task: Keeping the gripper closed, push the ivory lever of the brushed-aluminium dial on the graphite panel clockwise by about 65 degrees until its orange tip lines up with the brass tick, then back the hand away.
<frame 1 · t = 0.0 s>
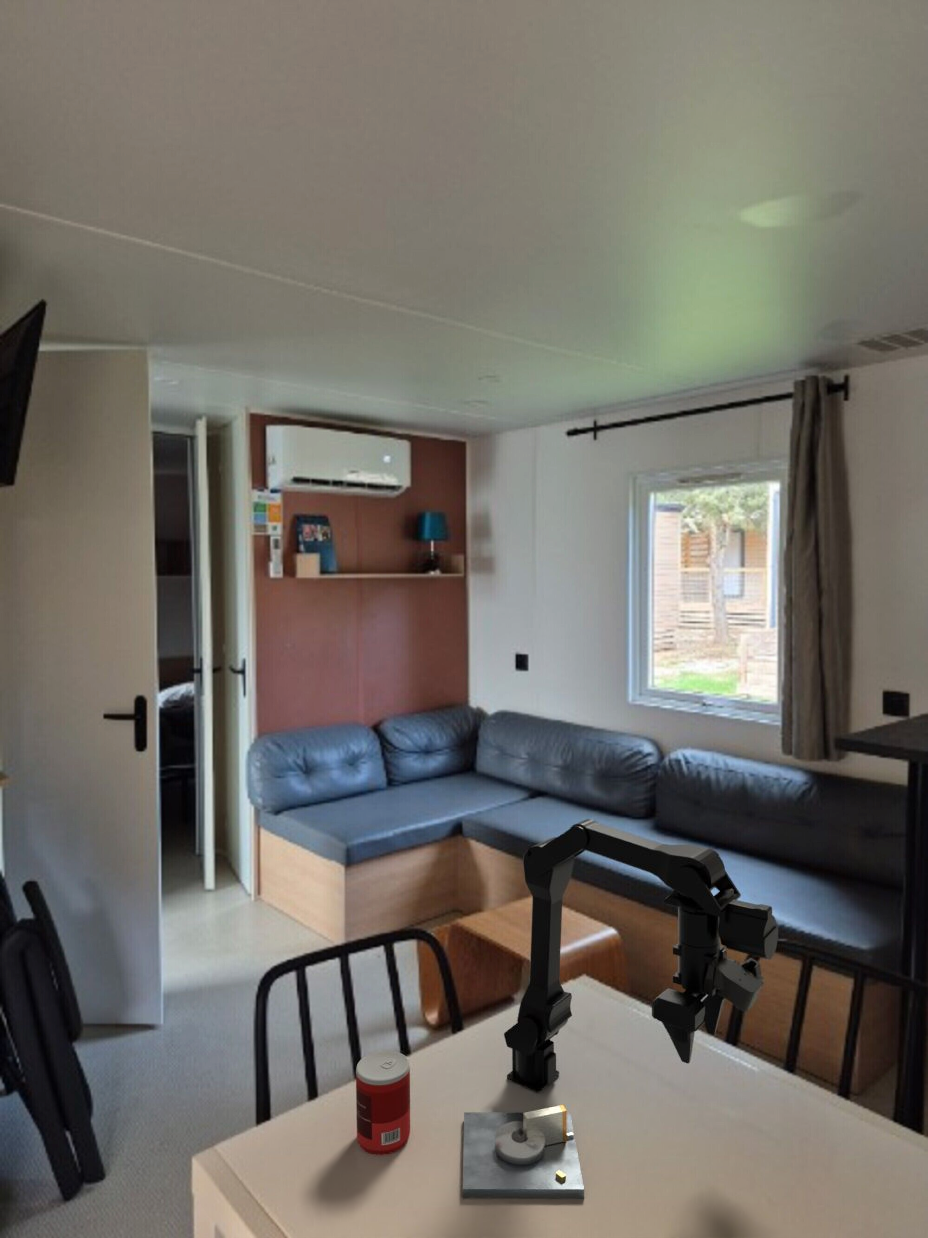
hand: (698, 1047, 117), 15 cm above the table, fingers open, 9 cm apart
panel: (520, 1156, 116), on the table
dial: (530, 1130, 116), point 3 cm above the table, hinge at 0.0°
canned food: (383, 1140, 120), on the table
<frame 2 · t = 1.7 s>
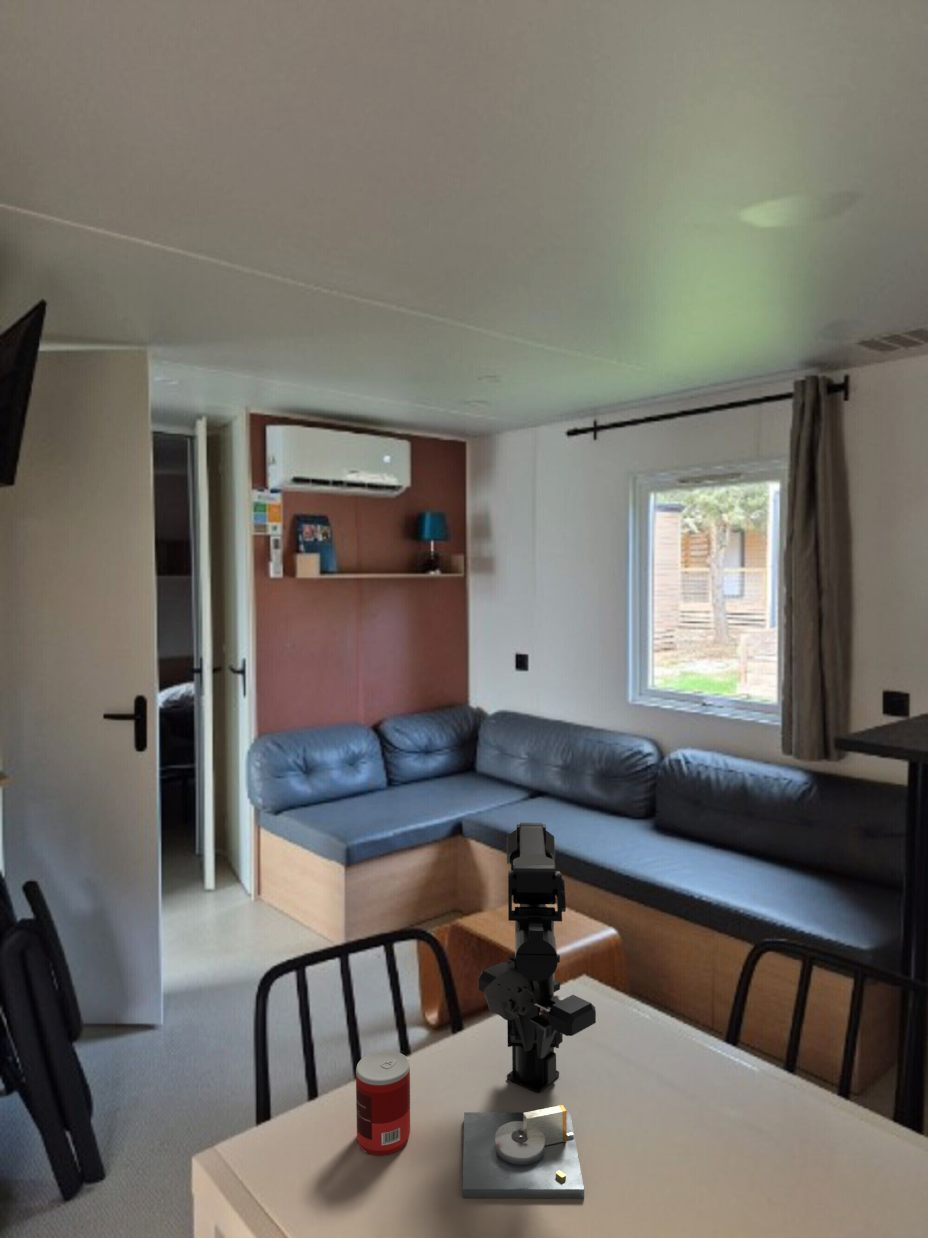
hand: (535, 1053, 120), 12 cm above the table, fingers closed
nothing on the table moved.
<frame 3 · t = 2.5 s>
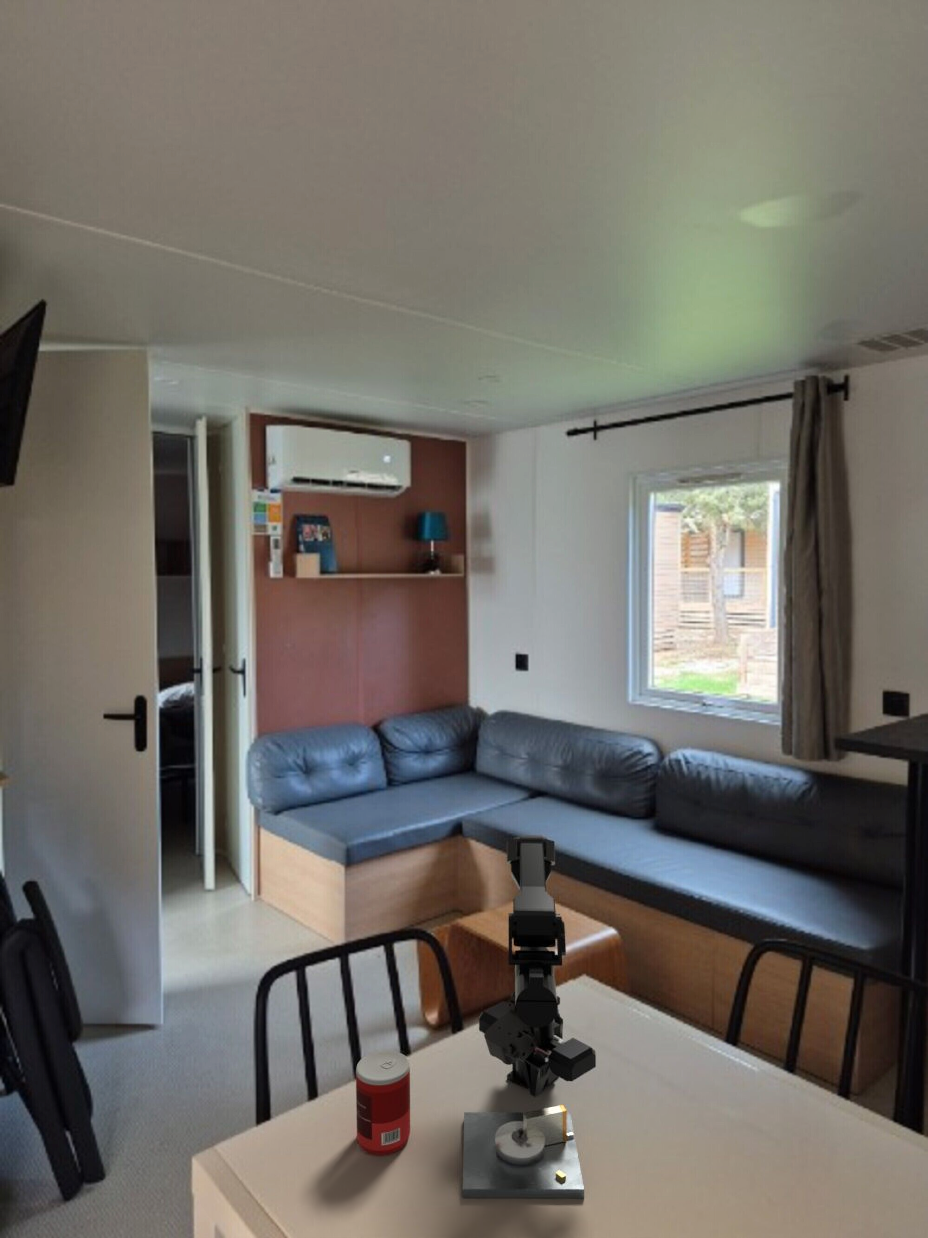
hand: (535, 1095, 121), 6 cm above the table, fingers closed
nothing on the table moved.
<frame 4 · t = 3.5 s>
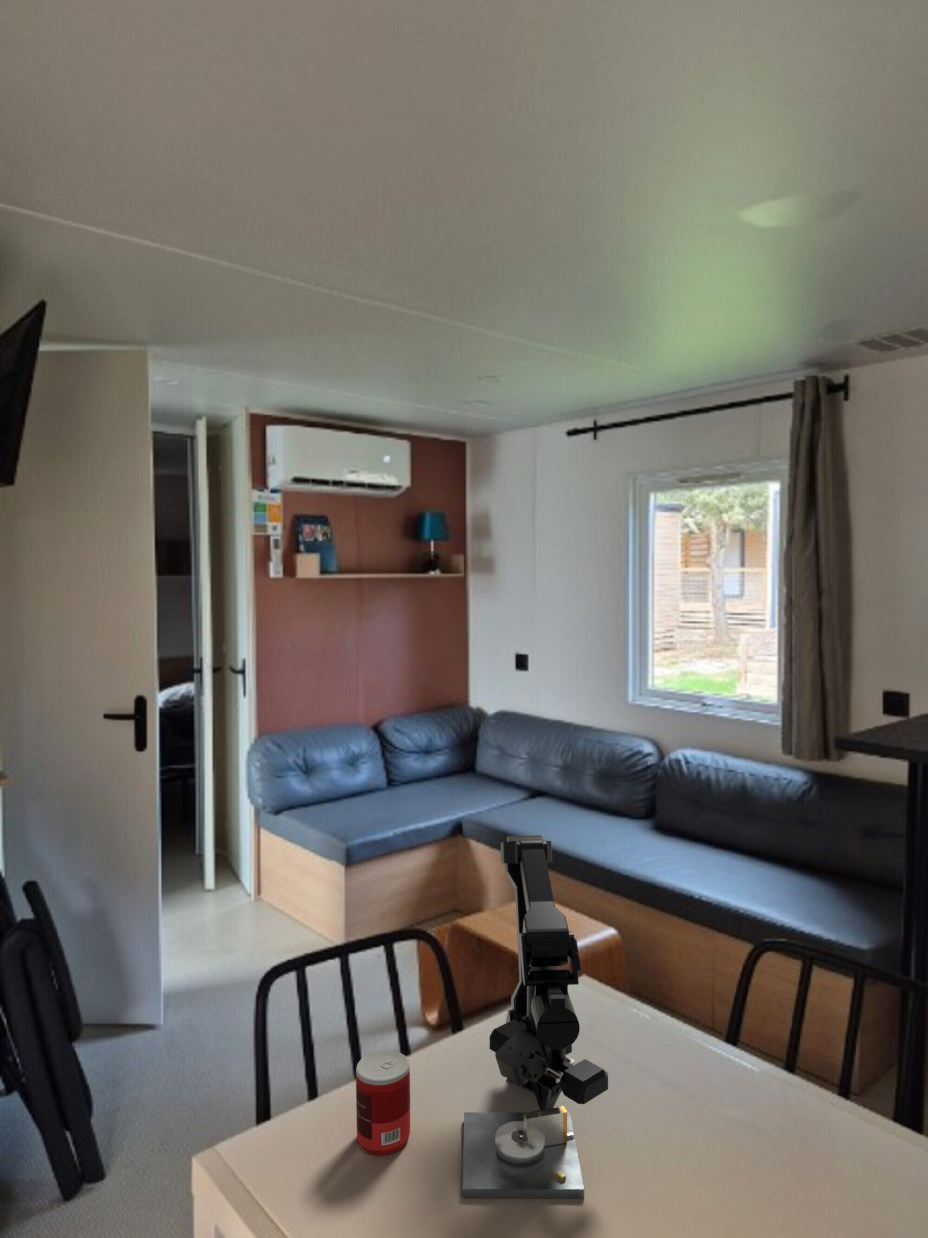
hand: (545, 1116, 119), 4 cm above the table, fingers closed
dial: (531, 1130, 116), point 3 cm above the table, hinge at 2.8°, touching gripper
everything else where it was.
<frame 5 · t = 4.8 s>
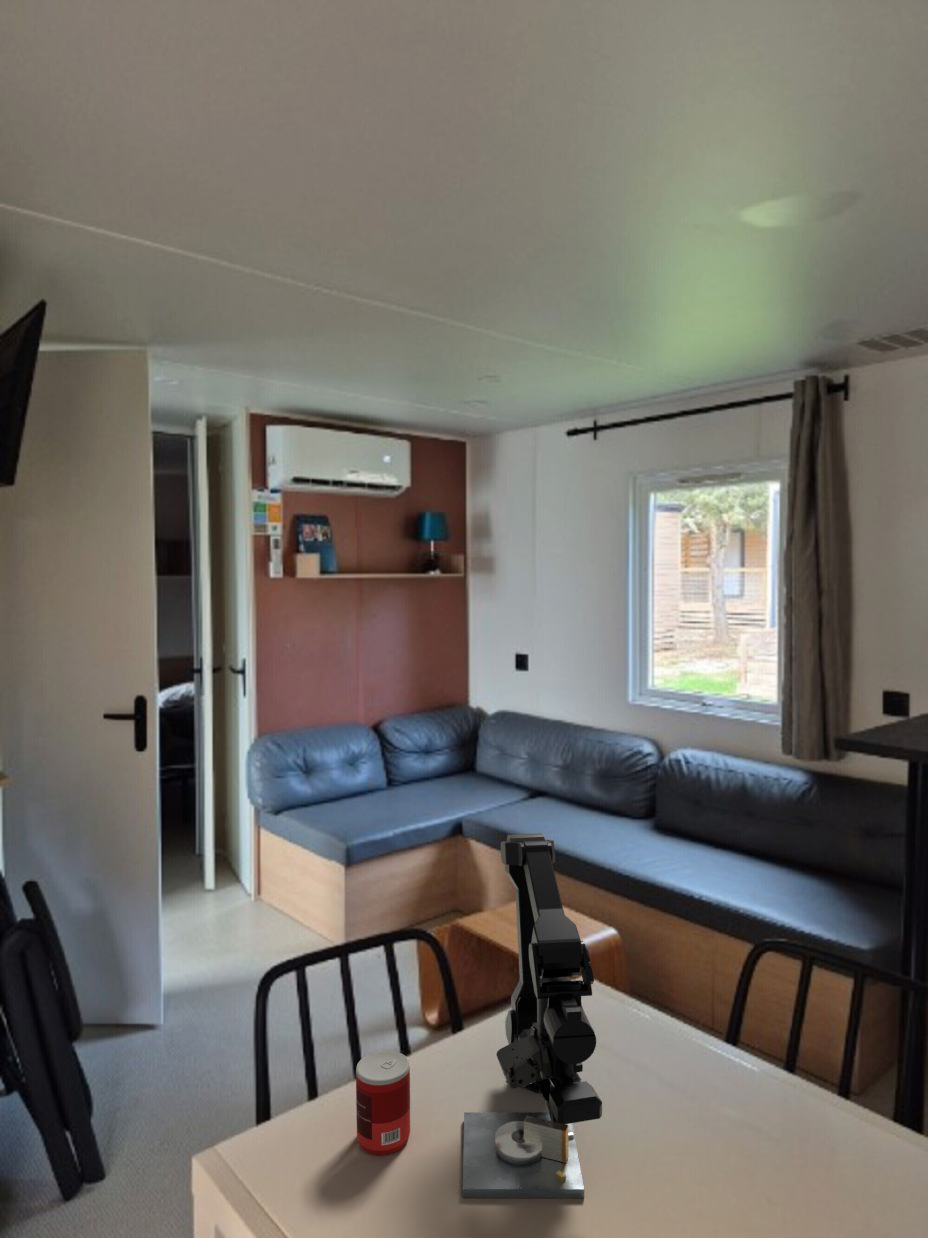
hand: (557, 1129, 116), 4 cm above the table, fingers closed
dial: (531, 1135, 115), point 3 cm above the table, hinge at 38.6°, touching gripper
everything else where it was.
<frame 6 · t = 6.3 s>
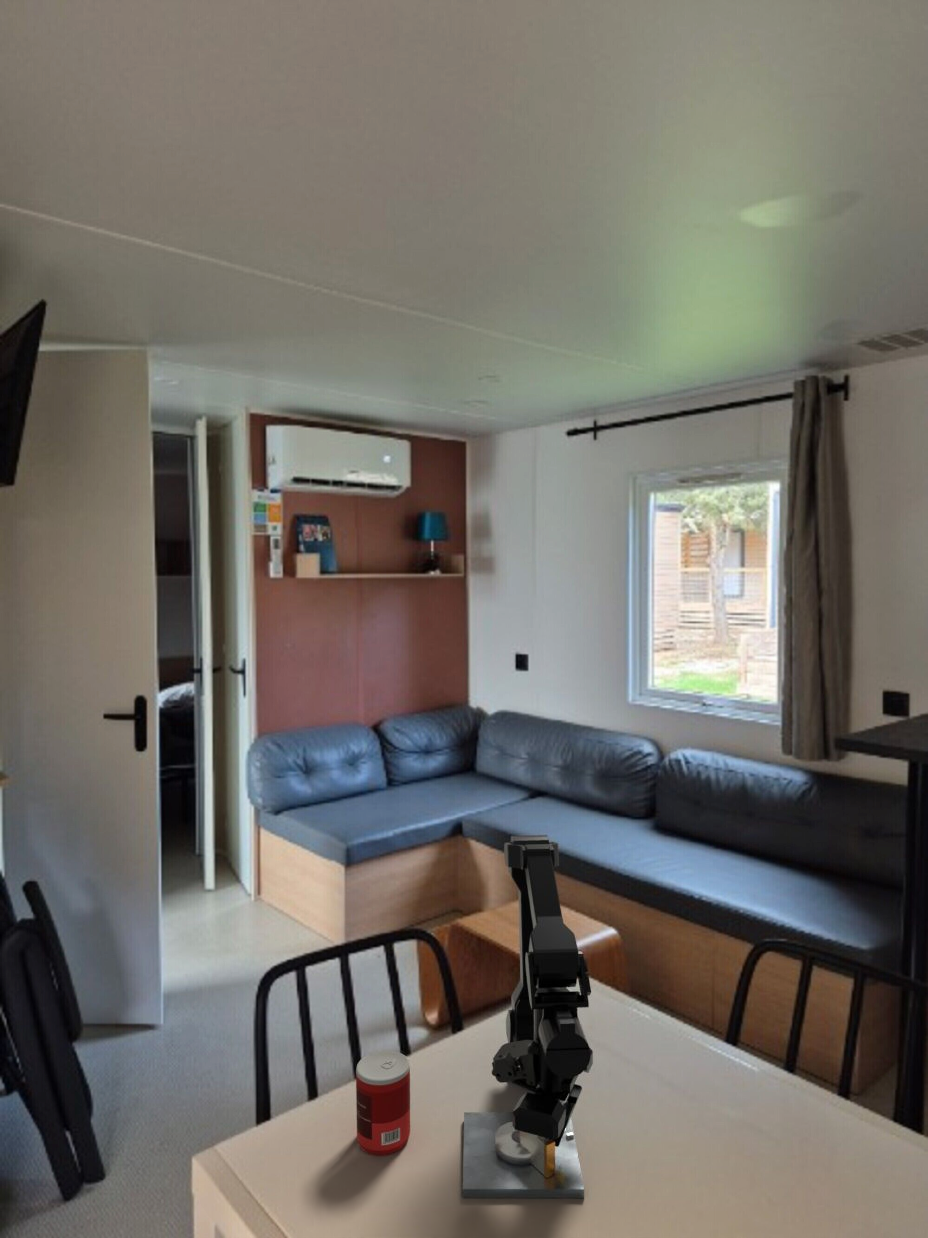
hand: (555, 1145, 113), 4 cm above the table, fingers closed
dial: (527, 1138, 114), point 3 cm above the table, hinge at 73.3°, touching gripper
everything else where it was.
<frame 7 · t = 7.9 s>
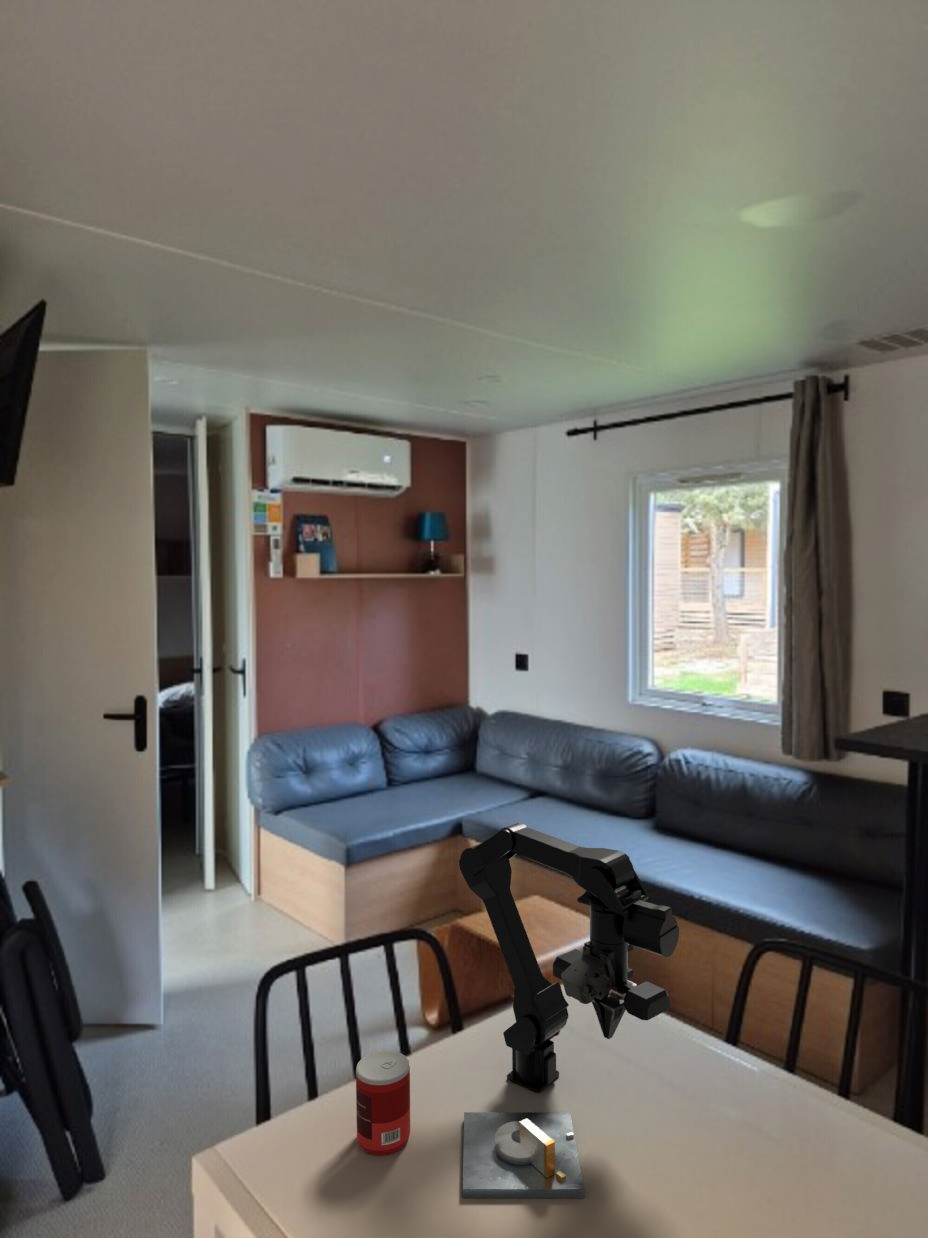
hand: (608, 1037, 125), 12 cm above the table, fingers closed
dial: (527, 1139, 114), point 3 cm above the table, hinge at 73.3°
everything else where it was.
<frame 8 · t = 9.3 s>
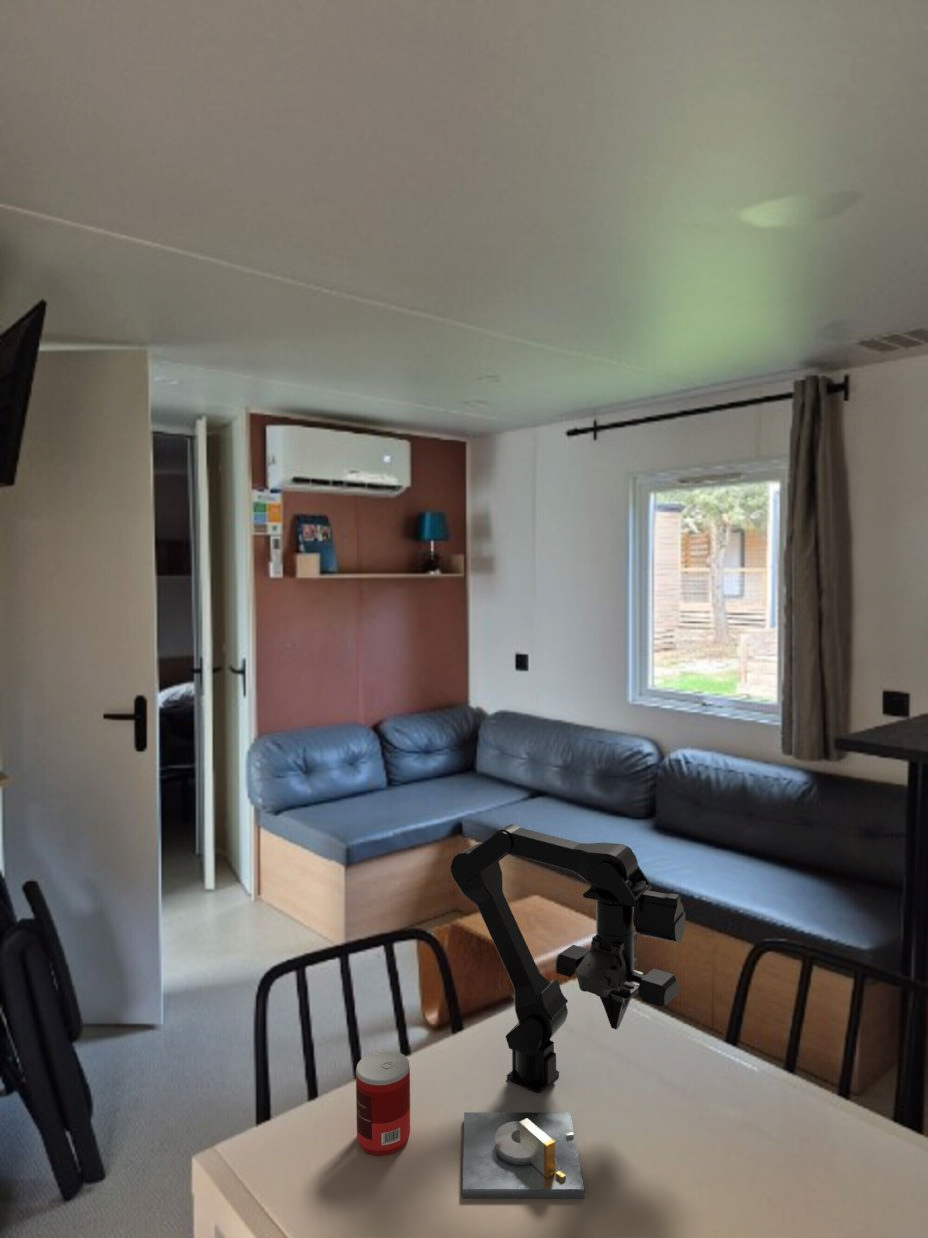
hand: (615, 1028, 127), 12 cm above the table, fingers closed
nothing on the table moved.
at the end: dial at +73° (first picture: +0°); canned food moved 0.2 cm from its start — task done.
